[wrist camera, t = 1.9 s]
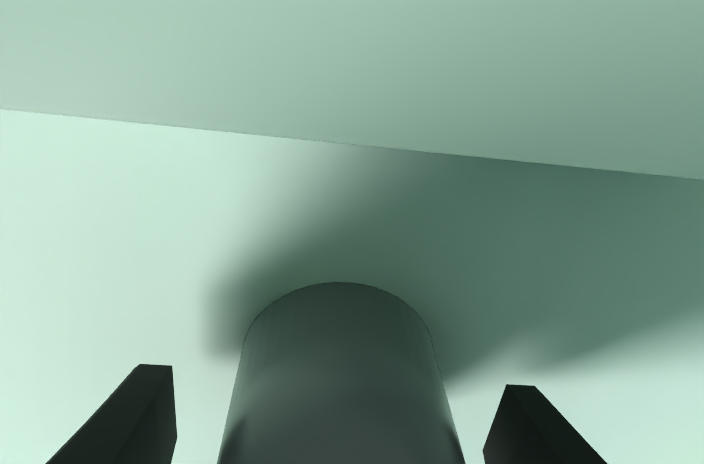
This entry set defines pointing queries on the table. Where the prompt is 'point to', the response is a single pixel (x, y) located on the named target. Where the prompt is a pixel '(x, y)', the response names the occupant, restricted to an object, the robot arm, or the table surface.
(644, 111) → the mount block
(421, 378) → the lens
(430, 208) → the table surface
